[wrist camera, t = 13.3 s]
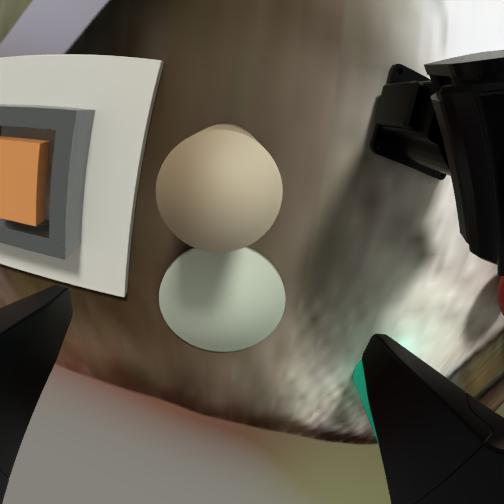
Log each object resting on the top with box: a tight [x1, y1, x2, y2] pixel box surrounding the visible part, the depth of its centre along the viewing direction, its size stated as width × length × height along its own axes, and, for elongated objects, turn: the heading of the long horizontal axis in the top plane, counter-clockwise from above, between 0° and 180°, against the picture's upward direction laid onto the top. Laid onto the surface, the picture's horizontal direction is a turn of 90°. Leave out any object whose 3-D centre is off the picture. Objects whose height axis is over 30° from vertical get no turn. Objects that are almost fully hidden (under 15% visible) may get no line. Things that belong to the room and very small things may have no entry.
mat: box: [159, 246, 285, 352], centre depth 23 cm, size 9×9×1 cm
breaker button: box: [0, 136, 50, 226], centre depth 15 cm, size 5×5×1 cm
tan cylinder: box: [156, 123, 283, 253], centre depth 15 cm, size 4×4×10 cm
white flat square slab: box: [0, 54, 164, 297], centre depth 17 cm, size 16×16×3 cm
